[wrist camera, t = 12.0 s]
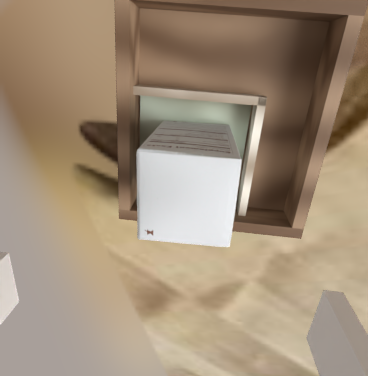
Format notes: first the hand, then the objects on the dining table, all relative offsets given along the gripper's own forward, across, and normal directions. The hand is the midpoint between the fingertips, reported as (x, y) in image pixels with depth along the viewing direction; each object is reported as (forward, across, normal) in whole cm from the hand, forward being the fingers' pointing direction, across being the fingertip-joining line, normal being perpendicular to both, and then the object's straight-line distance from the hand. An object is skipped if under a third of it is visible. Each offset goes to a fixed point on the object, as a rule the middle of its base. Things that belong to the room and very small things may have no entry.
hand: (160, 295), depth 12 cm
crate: (+22, +3, +4) cm, 23 cm away
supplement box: (+22, 0, 0) cm, 22 cm away
